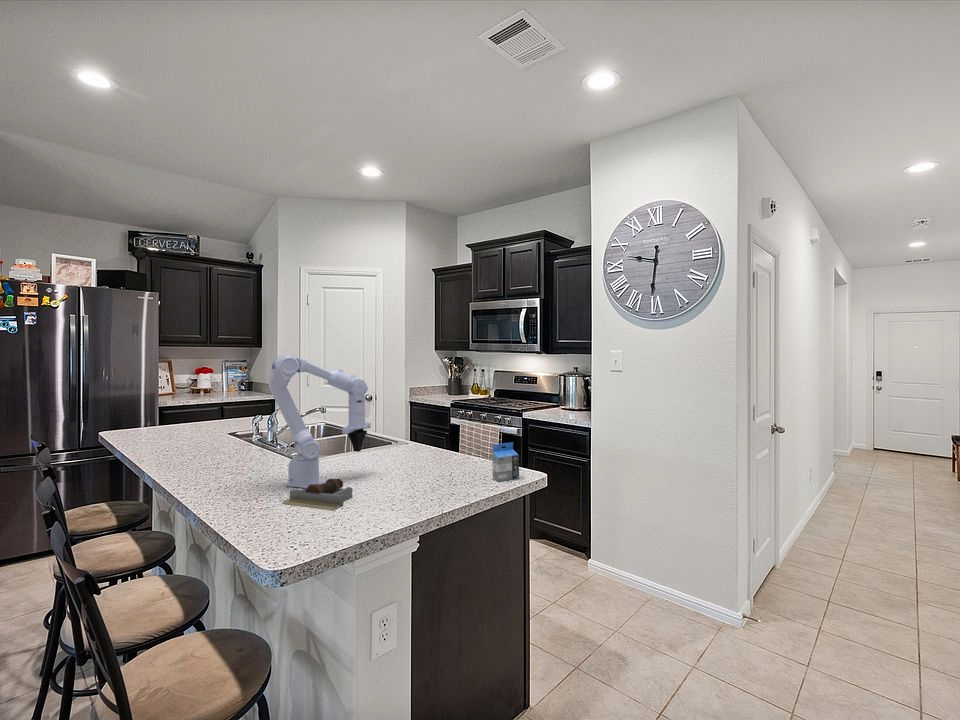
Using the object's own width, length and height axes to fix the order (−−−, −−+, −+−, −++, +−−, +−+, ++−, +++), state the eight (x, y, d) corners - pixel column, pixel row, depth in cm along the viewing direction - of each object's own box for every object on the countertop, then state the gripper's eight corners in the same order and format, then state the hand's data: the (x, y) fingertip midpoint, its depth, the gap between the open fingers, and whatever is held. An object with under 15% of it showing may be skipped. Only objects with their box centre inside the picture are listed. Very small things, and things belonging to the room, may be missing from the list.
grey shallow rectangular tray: (282, 503, 148) (282, 493, 148) (310, 492, 159) (310, 483, 159) (333, 510, 141) (333, 499, 141) (359, 498, 153) (359, 488, 153)
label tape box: (498, 482, 171) (498, 446, 171) (492, 479, 175) (491, 444, 175) (519, 478, 176) (519, 443, 176) (513, 476, 179) (512, 442, 179)
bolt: (341, 494, 164) (314, 506, 149) (329, 486, 165) (301, 497, 151) (349, 479, 163) (323, 490, 149) (337, 471, 164) (310, 481, 150)
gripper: (354, 415, 169) (354, 456, 170) (377, 411, 183) (378, 448, 183) (337, 414, 172) (337, 454, 172) (361, 410, 185) (361, 447, 186)
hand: (357, 451), depth 178 cm, fingers closed
